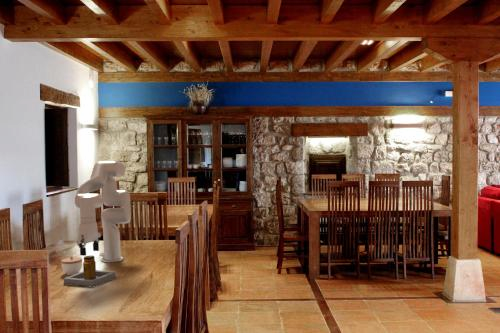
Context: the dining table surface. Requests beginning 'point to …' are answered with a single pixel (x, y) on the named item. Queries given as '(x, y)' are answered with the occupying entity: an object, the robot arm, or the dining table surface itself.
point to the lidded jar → (71, 265)
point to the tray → (79, 280)
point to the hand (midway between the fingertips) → (89, 253)
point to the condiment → (89, 268)
